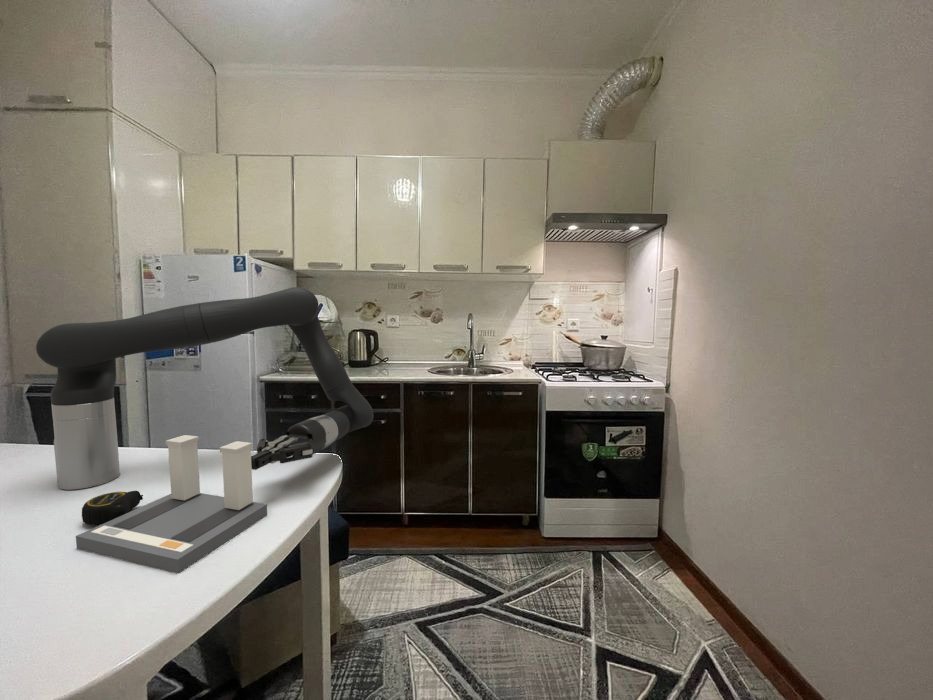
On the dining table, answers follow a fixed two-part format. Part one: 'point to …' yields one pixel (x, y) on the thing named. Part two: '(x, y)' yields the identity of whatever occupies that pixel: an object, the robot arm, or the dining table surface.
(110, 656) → the dining table surface
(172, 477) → the switch tab
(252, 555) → the dining table surface
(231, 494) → the switch tab
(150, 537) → the switch board
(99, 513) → the tape measure
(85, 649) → the dining table surface
